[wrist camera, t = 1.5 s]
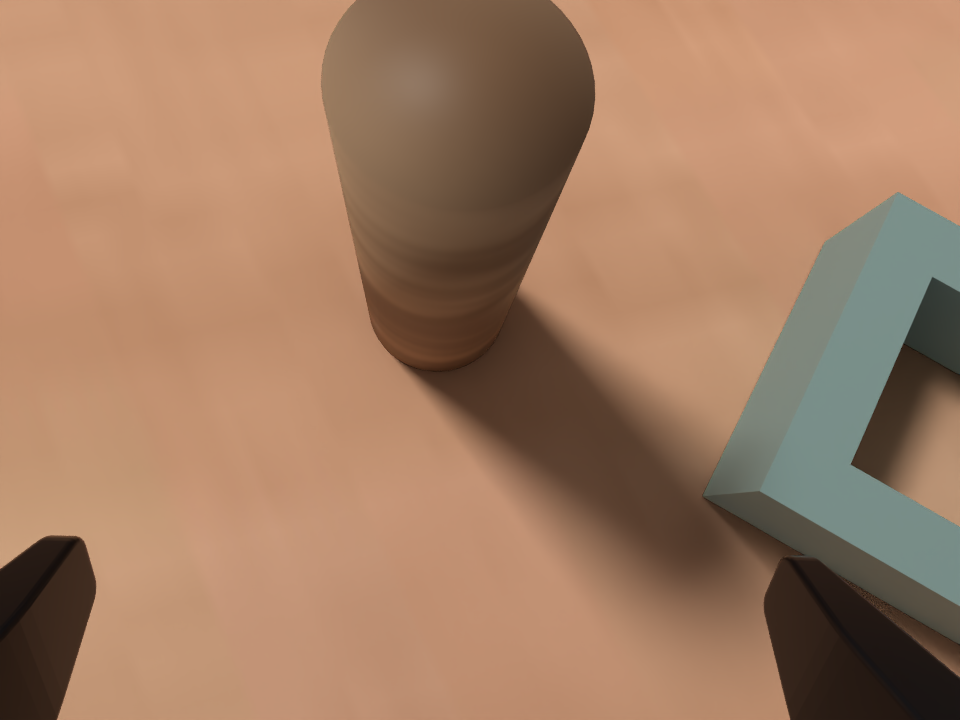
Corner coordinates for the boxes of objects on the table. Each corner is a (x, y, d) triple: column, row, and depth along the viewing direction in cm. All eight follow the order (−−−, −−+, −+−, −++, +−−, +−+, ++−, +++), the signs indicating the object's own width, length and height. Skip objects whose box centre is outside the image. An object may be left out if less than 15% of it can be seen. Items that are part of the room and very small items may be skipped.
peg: (441, 399, 23) (470, 266, 11) (340, 308, 24) (262, 83, 12) (532, 301, 24) (648, 82, 12) (432, 215, 25) (451, -83, 13)
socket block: (983, 658, 23) (1098, 685, 19) (702, 496, 23) (759, 491, 20) (1082, 386, 25) (1203, 361, 22) (824, 242, 26) (897, 191, 22)
